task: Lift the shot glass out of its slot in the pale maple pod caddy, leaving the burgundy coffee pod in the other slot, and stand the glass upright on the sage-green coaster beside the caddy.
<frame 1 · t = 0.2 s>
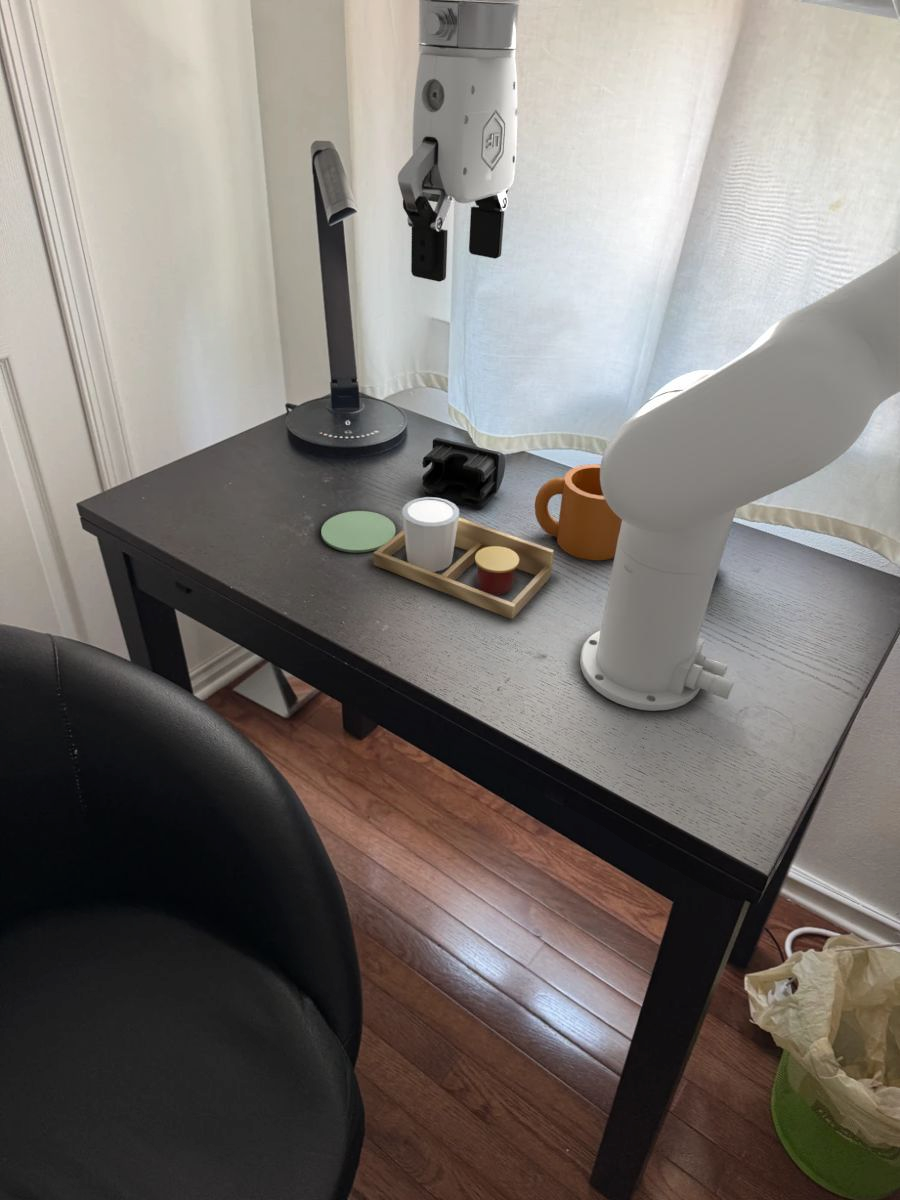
hand: (457, 266, 71), 36 cm above the table, tool pointing down, fingers open, 9 cm apart
coaster: (358, 532, 103), on the table
coffee pod: (494, 583, 95), resting in pod caddy
mug: (578, 540, 104), on the table
crayon box: (695, 584, 96), on the table
pod caddy: (461, 571, 97), on the table
end cap: (461, 492, 113), on the table
shot glass: (429, 560, 99), resting in pod caddy
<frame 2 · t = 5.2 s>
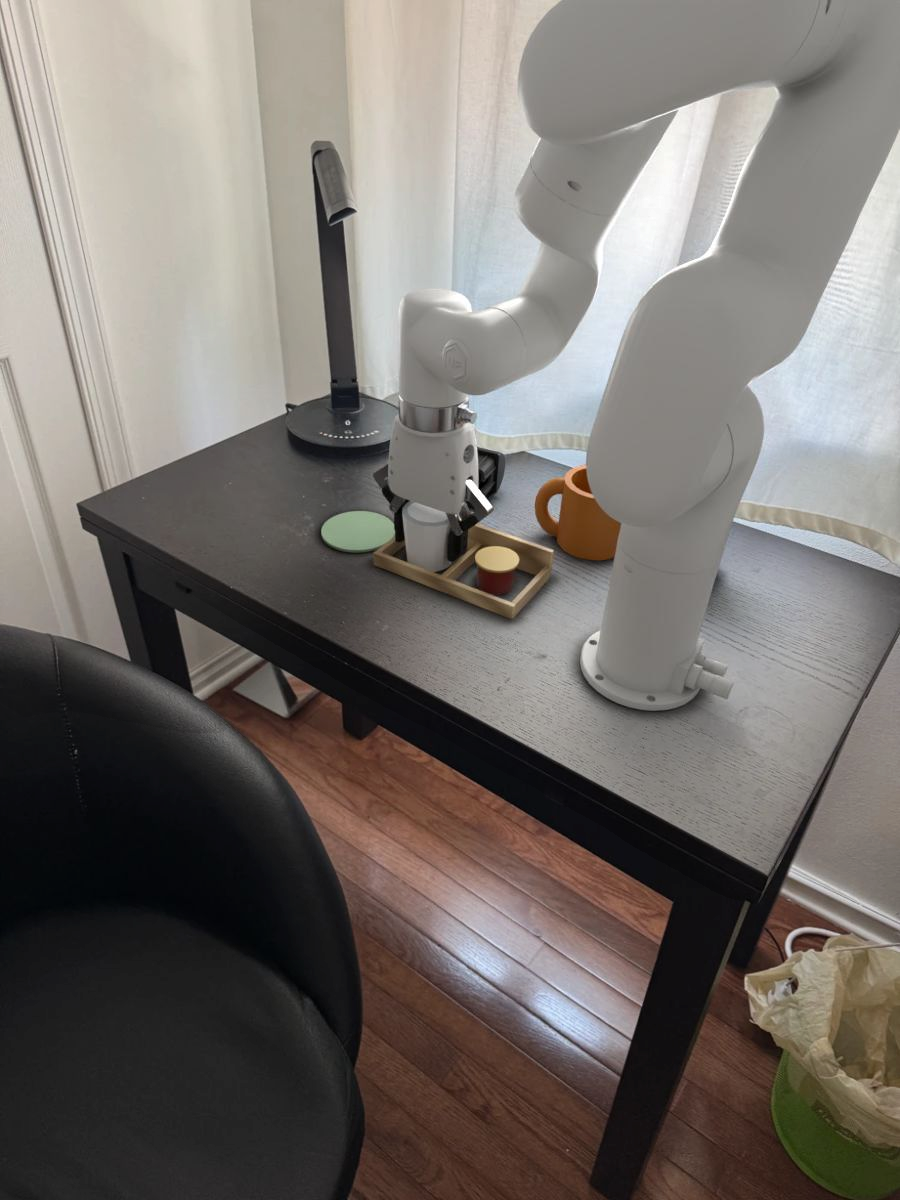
hand: (430, 545, 97), 2 cm above the table, tool pointing down, fingers closed on shot glass, 6 cm apart
shot glass: (429, 560, 99), resting in pod caddy, touching gripper
everything else where it was.
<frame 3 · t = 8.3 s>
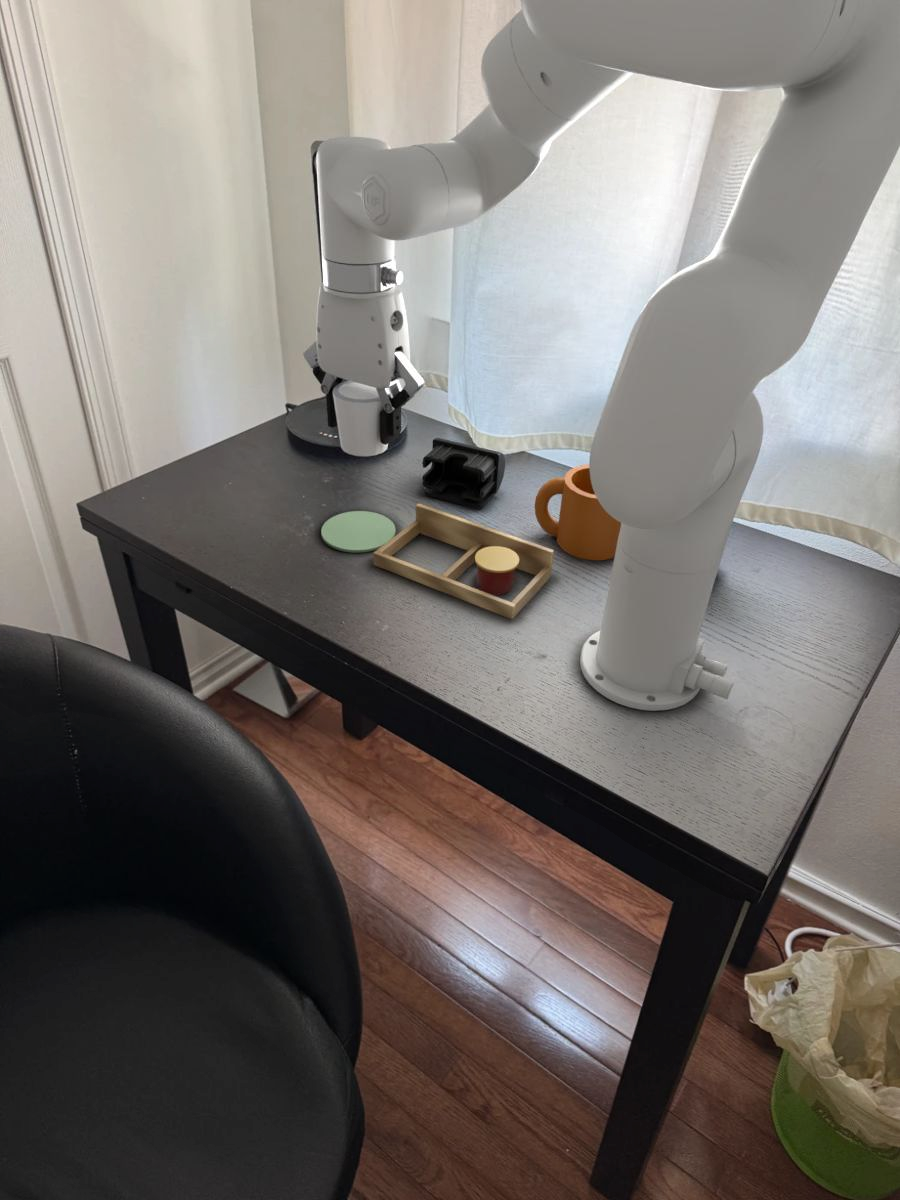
hand: (363, 430, 94), 15 cm above the table, tool pointing down, fingers closed on shot glass, 6 cm apart
shot glass: (364, 447, 95), point 13 cm above the table, touching gripper
everything else where it was.
when the fingers open (2 cm above the table, at t = 11.6 s): shot glass stays where it is, resting on coaster.
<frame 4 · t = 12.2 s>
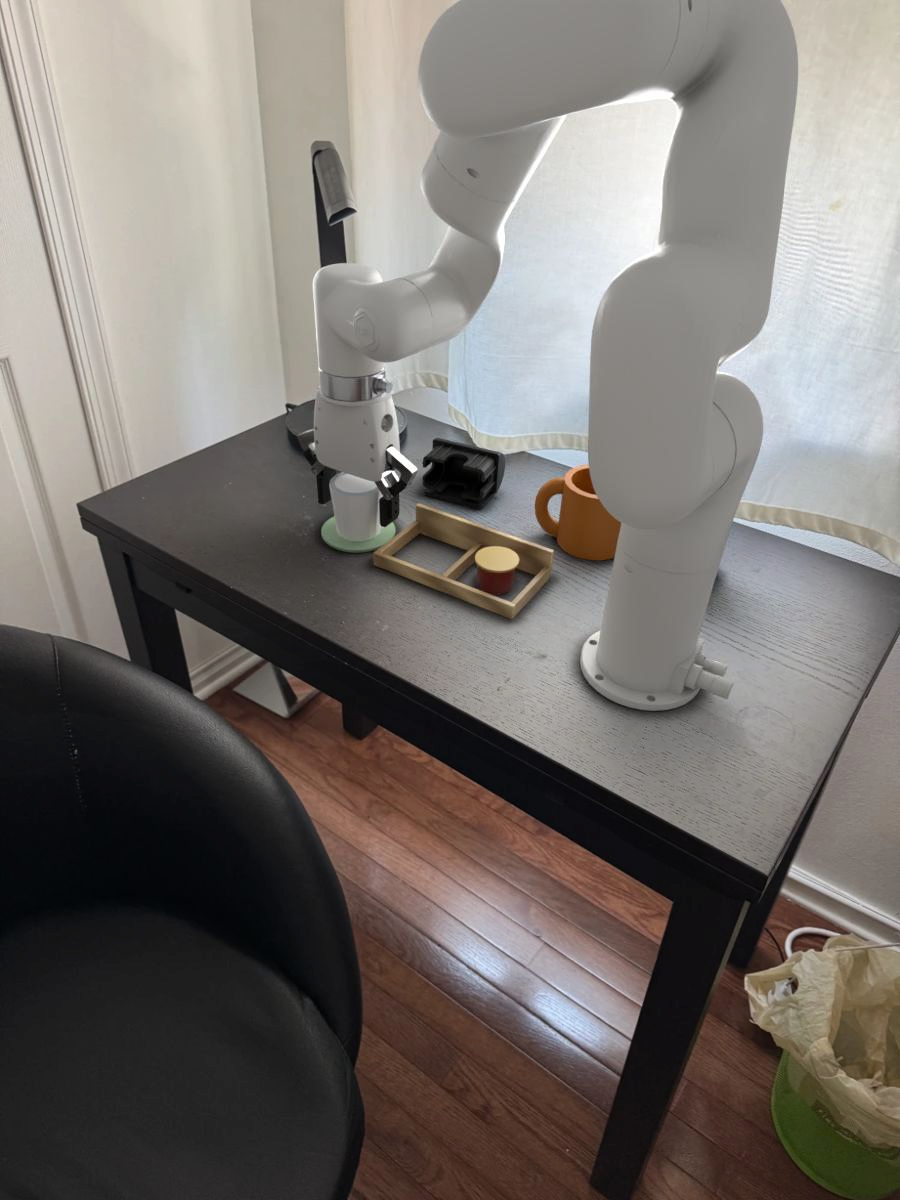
hand: (358, 510, 101), 3 cm above the table, tool pointing down, fingers open, 9 cm apart
shot glass: (358, 531, 103), resting on coaster
everything else where it was.
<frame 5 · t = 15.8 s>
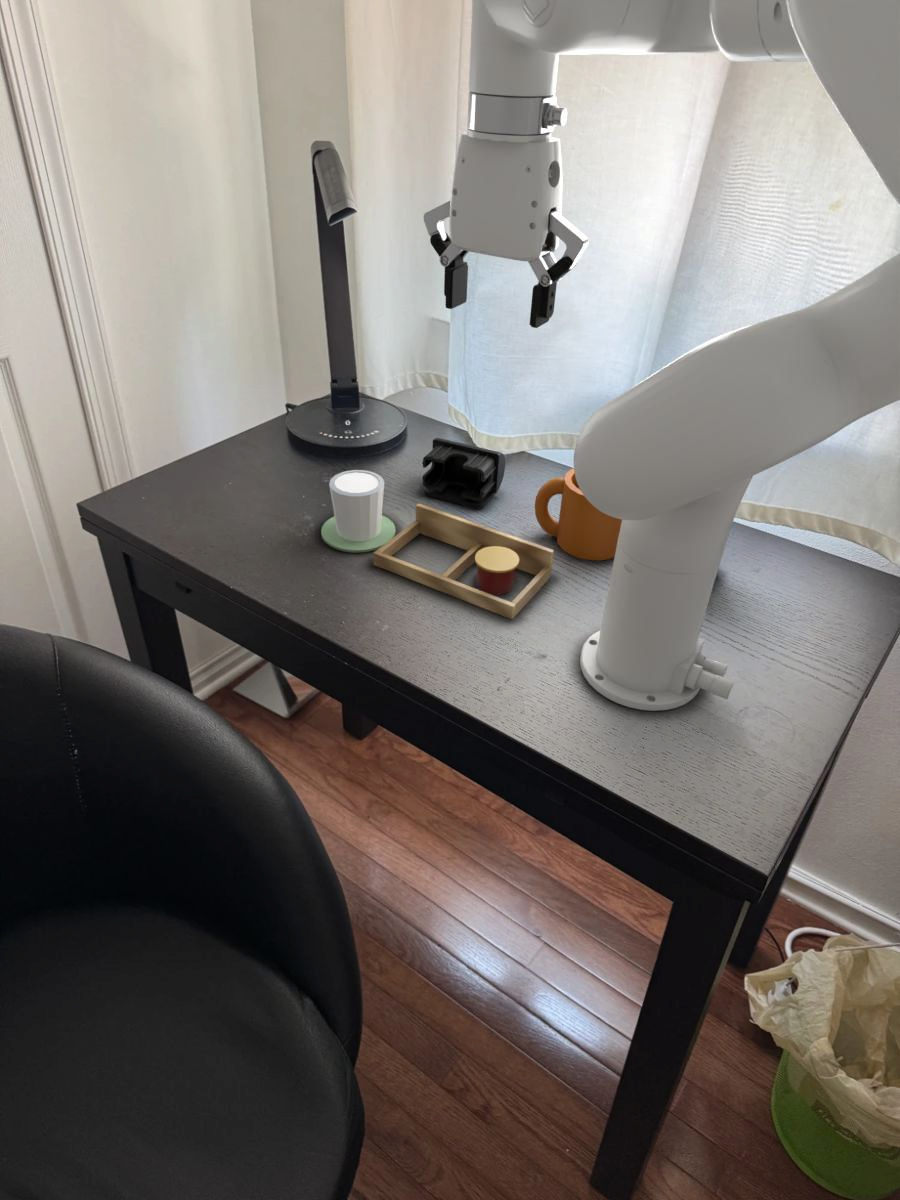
hand: (496, 314, 80), 30 cm above the table, tool pointing down, fingers open, 9 cm apart
nothing on the table moved.
at the end: shot glass 0.1 cm from the target spot, resting on coaster; shot glass tilted 0°; coffee pod moved 0.0 cm from its start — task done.
